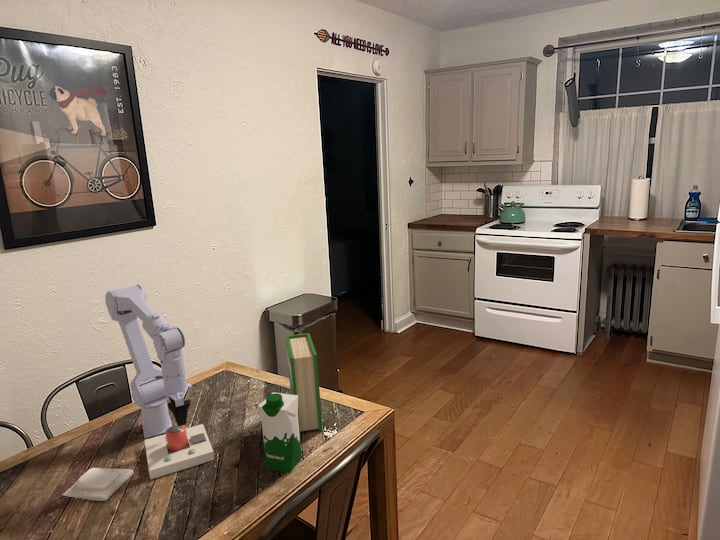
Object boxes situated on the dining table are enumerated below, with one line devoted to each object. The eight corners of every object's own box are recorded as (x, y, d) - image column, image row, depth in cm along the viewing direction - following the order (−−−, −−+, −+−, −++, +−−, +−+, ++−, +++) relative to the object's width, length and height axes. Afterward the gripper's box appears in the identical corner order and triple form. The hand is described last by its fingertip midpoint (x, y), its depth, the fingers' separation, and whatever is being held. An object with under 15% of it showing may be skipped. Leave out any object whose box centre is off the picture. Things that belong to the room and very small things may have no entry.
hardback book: (322, 431, 142) (316, 354, 137) (297, 435, 141) (290, 358, 135) (314, 402, 159) (309, 333, 153) (291, 406, 158) (285, 335, 152)
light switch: (89, 459, 129) (131, 460, 127) (92, 473, 130) (135, 474, 128) (57, 486, 119) (102, 488, 116) (61, 501, 120) (106, 503, 117)
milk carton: (261, 470, 126) (253, 399, 121) (277, 450, 134) (271, 383, 130) (291, 476, 123) (285, 403, 118) (307, 455, 131) (301, 386, 127)
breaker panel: (145, 447, 138) (144, 438, 138) (203, 431, 145) (202, 422, 145) (150, 479, 124) (148, 468, 124) (214, 459, 131) (213, 449, 131)
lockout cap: (167, 444, 135) (164, 426, 134) (186, 438, 138) (184, 421, 136) (169, 453, 131) (166, 435, 130) (189, 447, 133) (186, 430, 132)
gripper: (193, 379, 127) (199, 426, 130) (185, 360, 140) (191, 403, 143) (164, 386, 124) (171, 434, 127) (159, 365, 137) (166, 409, 140)
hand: (180, 418), depth 135 cm, fingers open, 7 cm apart
